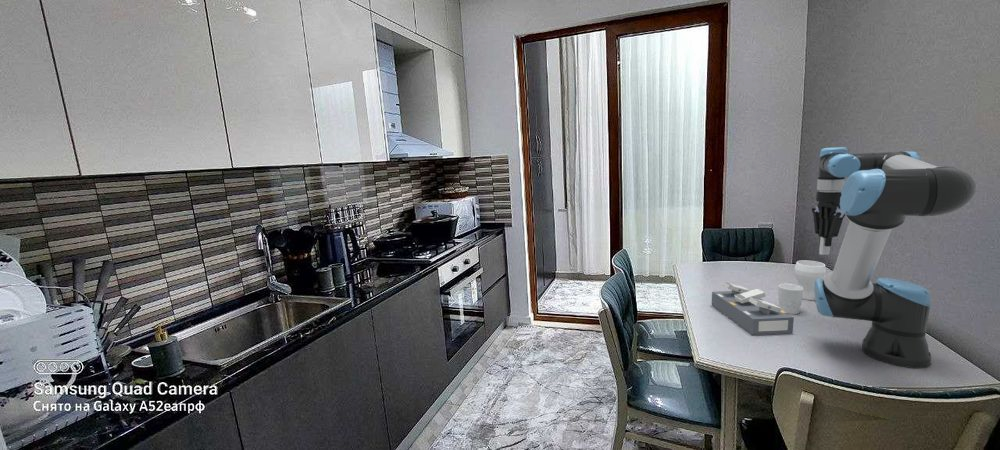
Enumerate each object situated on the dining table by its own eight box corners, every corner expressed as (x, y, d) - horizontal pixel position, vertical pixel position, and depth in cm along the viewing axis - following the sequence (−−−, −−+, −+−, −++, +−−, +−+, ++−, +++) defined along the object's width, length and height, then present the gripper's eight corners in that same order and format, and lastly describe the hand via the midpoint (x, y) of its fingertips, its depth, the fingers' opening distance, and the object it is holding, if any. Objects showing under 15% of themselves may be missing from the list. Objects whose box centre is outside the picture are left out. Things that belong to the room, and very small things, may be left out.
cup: (829, 298, 167) (832, 264, 164) (813, 303, 163) (816, 268, 161) (802, 291, 177) (805, 258, 174) (786, 295, 173) (789, 262, 170)
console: (792, 333, 139) (794, 312, 138) (752, 335, 139) (753, 314, 138) (745, 303, 167) (746, 286, 165) (711, 305, 167) (712, 287, 166)
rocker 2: (766, 296, 149) (765, 292, 149) (742, 303, 149) (741, 299, 149) (757, 292, 154) (756, 287, 154) (734, 298, 155) (733, 294, 154)
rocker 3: (780, 313, 140) (782, 308, 140) (756, 306, 140) (758, 301, 140) (770, 307, 146) (772, 303, 145) (747, 300, 145) (749, 296, 145)
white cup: (805, 315, 153) (807, 290, 151) (782, 314, 155) (784, 290, 153) (795, 307, 161) (796, 283, 159) (773, 306, 162) (774, 283, 160)
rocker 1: (749, 294, 158) (751, 290, 158) (728, 289, 158) (730, 285, 158) (742, 290, 163) (743, 286, 163) (721, 285, 163) (722, 281, 163)
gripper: (856, 192, 137) (849, 258, 141) (826, 188, 149) (820, 249, 154) (834, 193, 137) (828, 259, 141) (806, 189, 150) (801, 250, 154)
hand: (824, 254), depth 147 cm, fingers closed
